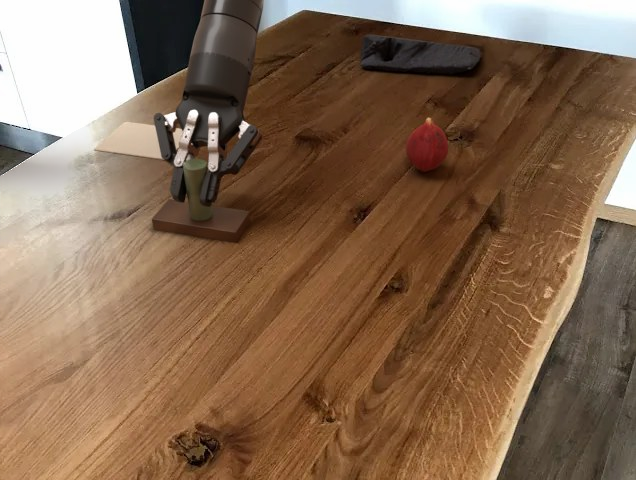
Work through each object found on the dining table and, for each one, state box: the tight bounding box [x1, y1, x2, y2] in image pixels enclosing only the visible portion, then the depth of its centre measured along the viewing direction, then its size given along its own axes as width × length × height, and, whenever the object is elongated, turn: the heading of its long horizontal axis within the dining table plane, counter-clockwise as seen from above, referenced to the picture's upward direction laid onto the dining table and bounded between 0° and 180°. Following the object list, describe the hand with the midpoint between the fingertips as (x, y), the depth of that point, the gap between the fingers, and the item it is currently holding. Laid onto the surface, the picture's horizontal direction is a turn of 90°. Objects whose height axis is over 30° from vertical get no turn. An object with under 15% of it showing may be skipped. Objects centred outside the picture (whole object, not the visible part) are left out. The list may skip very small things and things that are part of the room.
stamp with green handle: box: [151, 158, 251, 244], centre depth 89 cm, size 11×5×10 cm, turn 74°
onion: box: [405, 117, 449, 173], centre depth 102 cm, size 6×6×8 cm
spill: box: [93, 121, 183, 161], centre depth 112 cm, size 12×10×1 cm
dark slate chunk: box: [359, 34, 482, 75], centre depth 136 cm, size 15×22×5 cm
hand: (191, 202), depth 87 cm, fingers closed on stamp with green handle, 3 cm apart
